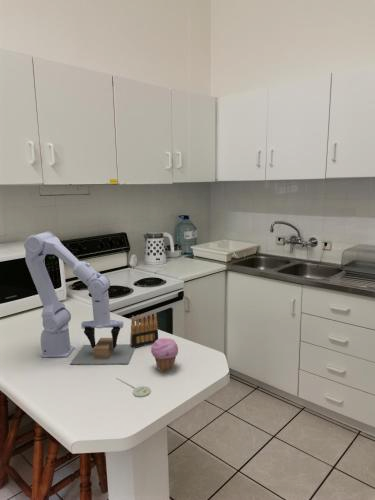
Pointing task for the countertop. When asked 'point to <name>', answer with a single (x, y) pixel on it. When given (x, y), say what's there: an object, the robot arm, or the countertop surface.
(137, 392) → the sign
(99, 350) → the card box
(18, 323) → the countertop surface
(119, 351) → the mat
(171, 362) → the cupcake
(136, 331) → the ammunition clip
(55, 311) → the robot arm
